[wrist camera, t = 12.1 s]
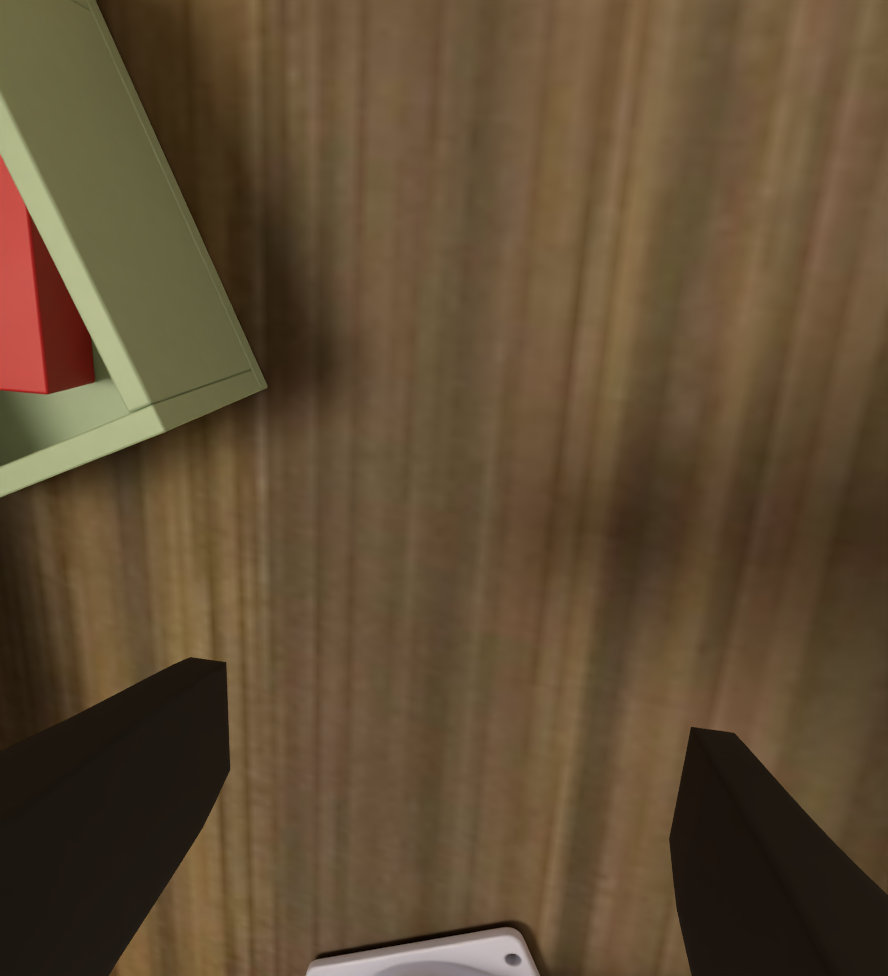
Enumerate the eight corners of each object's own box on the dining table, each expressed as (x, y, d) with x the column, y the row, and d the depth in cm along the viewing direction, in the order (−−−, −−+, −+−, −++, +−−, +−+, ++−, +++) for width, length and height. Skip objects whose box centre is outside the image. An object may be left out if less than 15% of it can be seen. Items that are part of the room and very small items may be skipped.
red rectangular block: (96, 383, 20) (48, 395, 18) (-9, 373, 20) (-68, 384, 18) (76, 144, 18) (19, 130, 16) (-41, 138, 18) (-109, 124, 17)
